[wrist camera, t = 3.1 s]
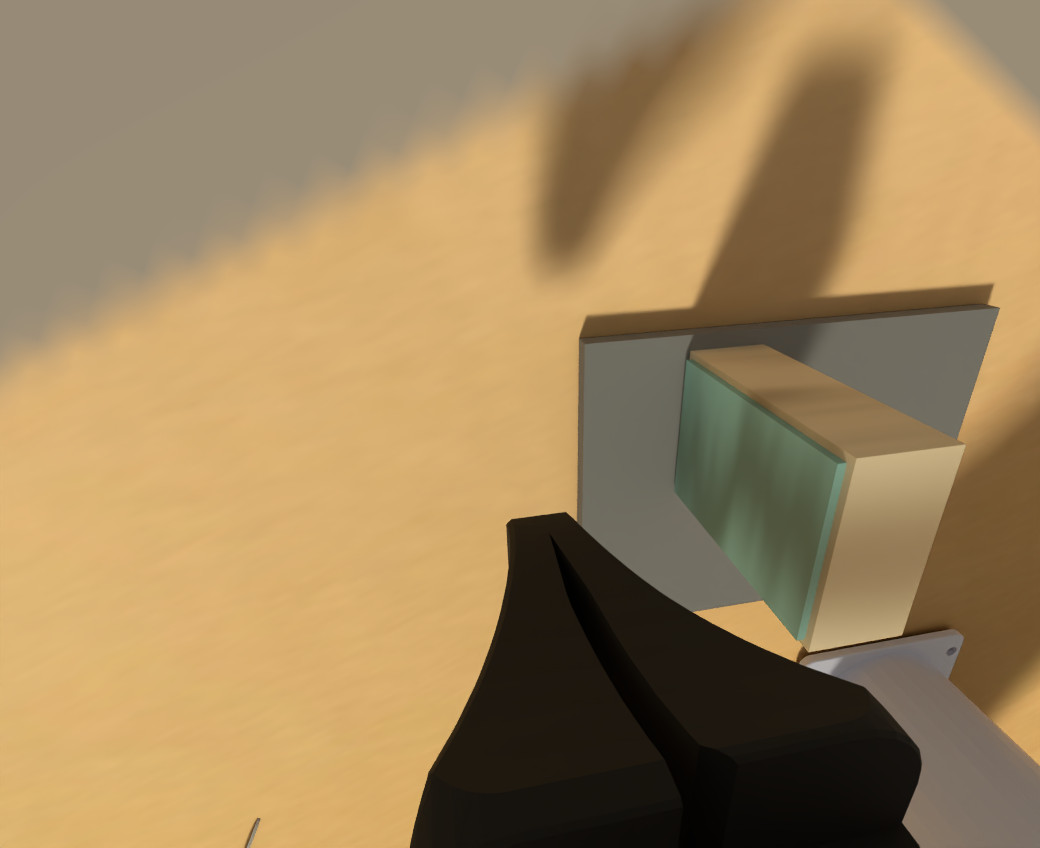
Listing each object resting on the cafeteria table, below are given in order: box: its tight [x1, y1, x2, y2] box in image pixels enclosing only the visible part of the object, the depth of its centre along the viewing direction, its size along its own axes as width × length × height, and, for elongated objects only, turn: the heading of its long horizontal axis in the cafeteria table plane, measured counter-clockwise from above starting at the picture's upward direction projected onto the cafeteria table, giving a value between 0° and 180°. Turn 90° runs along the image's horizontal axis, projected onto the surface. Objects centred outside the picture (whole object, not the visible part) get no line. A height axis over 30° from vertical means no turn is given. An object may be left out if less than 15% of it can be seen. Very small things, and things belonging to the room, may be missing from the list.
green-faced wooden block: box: [674, 344, 966, 652], centre depth 15 cm, size 5×3×7 cm, turn 2°
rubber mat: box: [577, 304, 1000, 612], centre depth 20 cm, size 11×14×1 cm
